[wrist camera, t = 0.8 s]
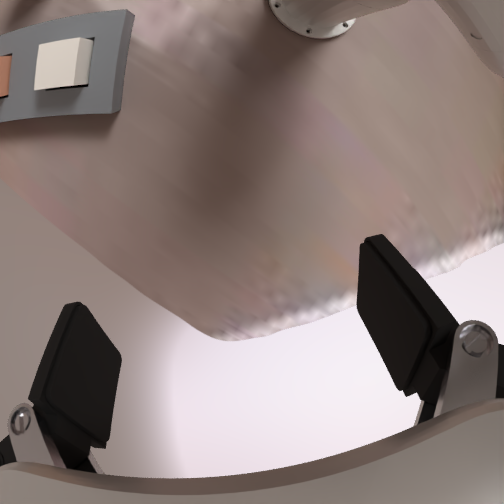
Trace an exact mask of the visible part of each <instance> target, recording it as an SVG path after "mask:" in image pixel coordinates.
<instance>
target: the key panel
mask: <svg viewBox="0 0 504 504" xmlns="http://www.w3.org/2000/svg"><path fill="white" fill-rule="evenodd" d="M134 17H135V15H134V14H132V13H131V12H130V11H128V10H127V9H126V10H113V11H104V12H96V13H88V14H82V15H76V16H70V17H65V18H60V19H55V20H51V21H47V22H43V23H39V24H35V25H31V26H28V27H24V28H21V29H18V30H15V31H12V32H9V33H6V34H3V35H0V56H12V61H11V69H10V80H9V95H8V97H5V98H0V122H5V121H12V120H19V119H27V118H36V117H46V116H58V115H75V114H110V113H114V112H117V111H119V110H121V101H122V91H123V82H124V75H125V67H126V61H127V54H128V48H129V42H130V37H131V32H132V27H133V22H134ZM79 37H81V38H85V39H89V40H93V41H94V46H93V52H92V59H91V66H90V75H89V84H88V86H86V87H73V88H62V89H59V87H55V88H47V89H40V90H34V84H35V73H36V64H37V56H38V49H39V45H40V44H44V43H49V42H54V41H60V40H66V39H72V38H79Z"/></svg>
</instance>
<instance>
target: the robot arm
mask: <svg viewBox="0 0 504 504" xmlns="http://www.w3.org/2000/svg"><path fill="white" fill-rule="evenodd" d="M268 1H269V5H270V7H271V9H272V11H273V13H274V15H275V16H276V17H277V19H278V20H279V21H280V22H281V23H282V24H283V25H284V26H286V27H287V28H289V29H290V30H292V31H293V32H296V33H298V34H300V35H303V36H306V37H310V38H316V39H326V38H331V37H335V36H338V35H340V34H342V33H344V32H346V31H347V30H349V29H350V28H351V26H352V25H353V24H354V22H355V20H356V18H358V17H361V16H364V15H367V14H371V13H374V12H378V11H381V10H385V9H389V8H392V7H396V6H399V5H402V4H405V3H406V2H408V1H410V0H268ZM435 1H436V2H437V3H438V4H439V6H440V7H441V8H442V9H443V10H444V12H445V13H446V14H447V15H448V16H449V18H450V19H451V20H452V21H453V23H454V24H455V25H456V27H457V28H458V29H459V31H460V32H461V33H462V35H463V36H464V37H465V39H466V40H467V42H468V43H469V45H470V46H471V48H472V49H473V50H474V52H475V53H476V54H477V56H478V57H479V58H480V60H481V61H482V62H483V63H484V64H485V65H486V66H487V67H488V68H489V69H490V70H491V71H492V72H494V73H495V74H497V75H499V76H500V77H502V78H504V0H435ZM275 5H277V6H278V8H276V7H275ZM342 24H343V25H344V27H343V25H342ZM306 30H308V31H309V33H307V32H306ZM357 309H358V313H359V315H360V317H361V319H362V320H363V322H364V324H365V326H366V328H367V330H368V332H369V334H370V336H371V338H372V339H373V341H374V343H375V345H376V347H377V349H378V351H379V353H380V355H381V357H382V359H383V361H384V363H385V365H386V367H387V369H388V371H389V373H390V375H391V377H392V379H393V382H394V384H395V386H396V388H397V389H398V390H399V391H402V390H403V392H404V394H405V396H406V397H407V396H410V395H412V394H414V393H416V392H417V393H418V395H419V397H420V400H422V401H421V404H420V408H419V411H418V414H417V417H416V421H415V424H414V427H411V428H409V429H407V430H405V431H402V432H400V433H397V434H395V435H392V436H390V437H387V438H385V439H382V440H379V441H376V442H374V443H371V444H368V445H365V446H362V447H359V448H356V449H353V450H350V451H347V452H344V453H341V454H337V455H334V456H330V457H326V458H323V459H319V460H315V461H311V462H307V463H303V464H298V465H294V466H289V467H284V468H278V469H273V470H267V471H261V472H254V473H247V474H239V475H231V476H219V477H206V478H180V479H179V478H176V479H166V478H138V477H124V476H114V475H105V474H104V472H103V471H102V469H101V468H100V466H99V464H98V463H97V461H96V459H95V458H94V456H93V454H92V453H91V451H90V446H92V447H94V448H104V449H105V448H106V442H107V441H108V440H109V437H110V431H111V422H112V415H113V408H114V402H115V396H116V390H117V384H118V378H119V373H120V367H121V362H122V358H121V354H120V352H119V351H118V350H117V348H116V347H115V346H114V344H113V343H112V342H111V341H110V339H109V338H108V336H107V335H106V334H105V332H104V331H103V330H102V328H101V327H100V325H99V324H98V322H97V321H96V319H95V318H94V317H93V315H92V314H91V312H90V311H89V309H88V308H87V307H86V306H85V305H83V304H82V303H81V302H74V303H69V304H66V305H65V306H64V307H63V309H62V312H61V314H60V316H59V318H58V321H57V323H56V325H55V328H54V330H53V332H52V334H51V337H50V339H49V342H48V344H47V347H46V349H45V351H44V354H43V357H42V359H41V362H40V365H39V367H38V370H37V373H36V376H35V379H34V382H33V385H32V388H31V391H30V394H29V397H28V399H29V400H30V401H31V402H32V403H33V404H34V406H33V407H31V406H30V405H29V404H27V403H22V404H19V405H17V406H16V407H15V408H14V409H13V410H12V412H11V414H10V416H9V419H8V432H9V435H8V436H7V437H5V438H4V439H3V440H2V441H1V442H0V504H504V345H501V344H498V339H497V336H496V334H495V332H494V331H493V330H492V329H491V327H490V326H488V325H487V324H485V323H483V322H480V321H476V320H470V321H466V322H464V323H462V324H461V325H459V324H458V322H457V321H456V319H455V318H454V317H453V316H452V314H451V313H450V312H449V310H448V309H447V308H446V306H445V305H444V304H443V302H442V301H441V300H440V299H439V297H438V296H437V295H436V294H435V292H434V291H433V290H432V289H431V288H430V286H429V285H428V284H427V283H426V281H425V280H424V279H423V278H422V277H421V275H420V274H419V273H418V272H417V271H416V270H415V269H414V268H413V267H412V266H411V265H410V264H409V263H408V262H407V260H406V259H405V258H404V257H403V256H402V255H401V254H400V252H399V251H398V250H397V249H396V248H395V247H394V246H393V245H392V244H391V242H390V241H389V240H388V239H387V238H386V237H385V236H384V235H383V234H379V235H375V236H371V237H366V238H365V240H364V243H361V244H360V254H359V276H358V292H357Z"/></svg>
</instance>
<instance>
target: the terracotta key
mask: <svg viewBox="0 0 504 504" xmlns="http://www.w3.org/2000/svg"><path fill="white" fill-rule="evenodd" d="M11 61H12V56H0V97H1V96H5V95H9V80H10V69H11Z"/></svg>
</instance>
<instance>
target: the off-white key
mask: <svg viewBox="0 0 504 504" xmlns="http://www.w3.org/2000/svg"><path fill="white" fill-rule="evenodd" d="M93 46H94V41H93V40H89V39H85V38H81V37H79V38H72V39H66V40H60V41H54V42H49V43H44V44H40V45H39V49H38V56H37V64H36V73H35V84H34V90H40V89H47V88H55V87H64V86H74V85H83V84H89V75H90V66H91V59H92V52H93Z"/></svg>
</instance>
